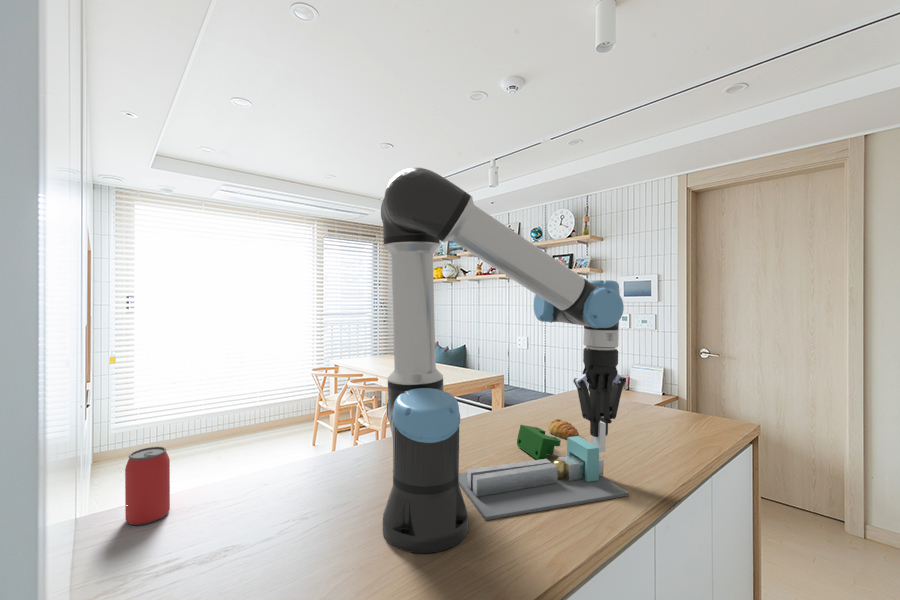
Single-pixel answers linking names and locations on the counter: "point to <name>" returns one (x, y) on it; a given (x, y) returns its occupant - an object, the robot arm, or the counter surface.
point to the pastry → (562, 429)
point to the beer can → (147, 485)
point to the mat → (541, 496)
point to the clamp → (536, 442)
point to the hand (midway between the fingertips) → (598, 449)
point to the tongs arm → (514, 479)
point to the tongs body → (566, 465)
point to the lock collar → (585, 456)
